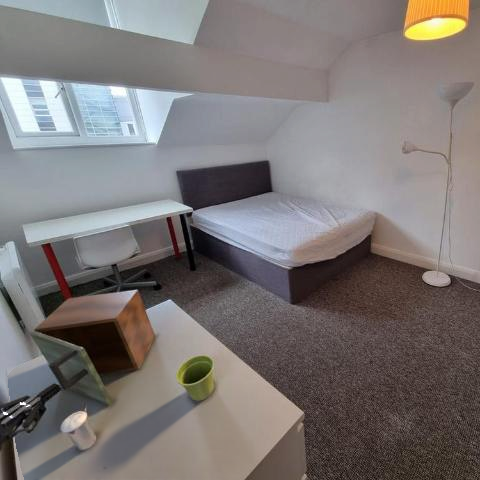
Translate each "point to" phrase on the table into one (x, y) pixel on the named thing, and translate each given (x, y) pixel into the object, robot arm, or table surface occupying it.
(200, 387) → the plant pot
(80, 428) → the milkshake
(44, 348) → the cupboard door
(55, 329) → the cupboard
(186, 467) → the table surface
